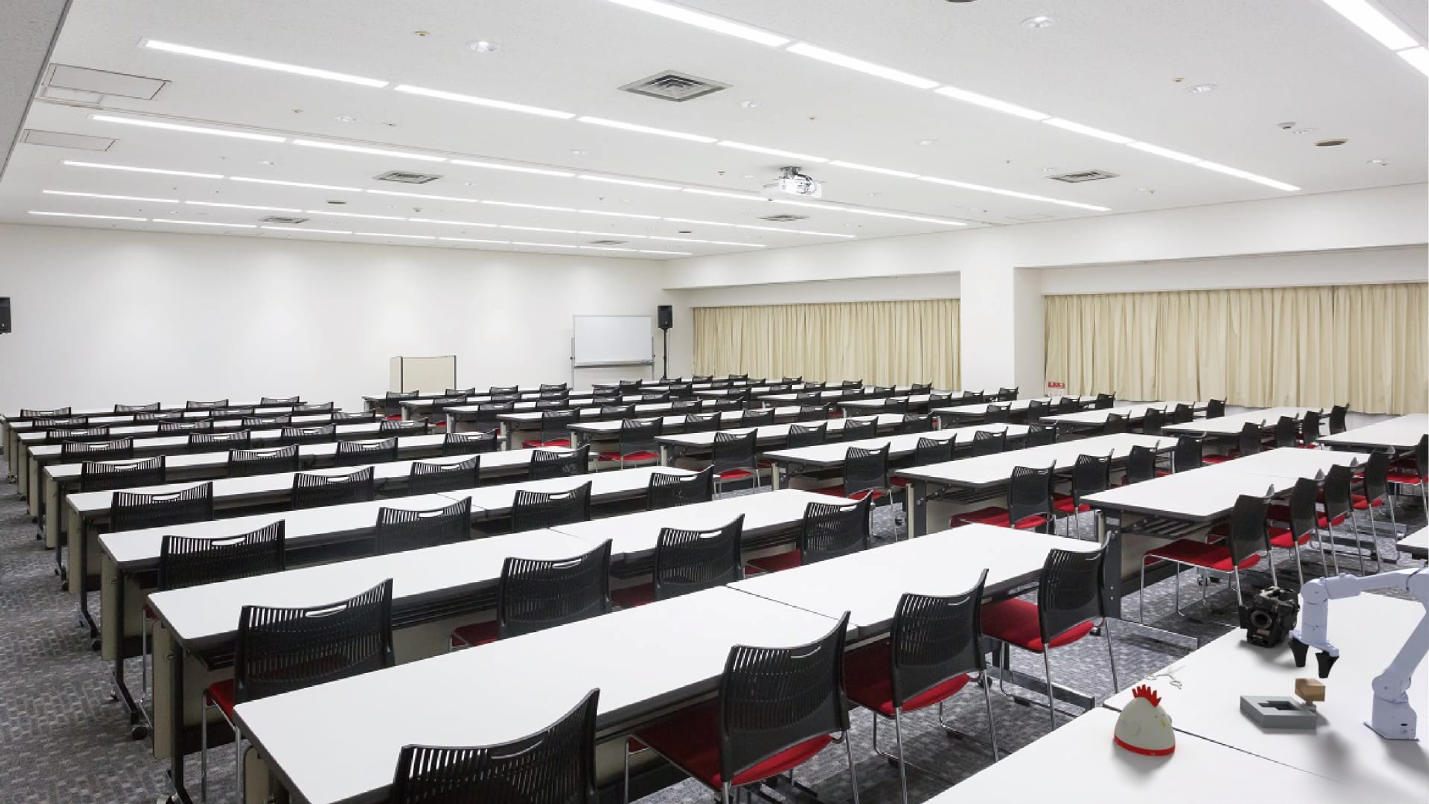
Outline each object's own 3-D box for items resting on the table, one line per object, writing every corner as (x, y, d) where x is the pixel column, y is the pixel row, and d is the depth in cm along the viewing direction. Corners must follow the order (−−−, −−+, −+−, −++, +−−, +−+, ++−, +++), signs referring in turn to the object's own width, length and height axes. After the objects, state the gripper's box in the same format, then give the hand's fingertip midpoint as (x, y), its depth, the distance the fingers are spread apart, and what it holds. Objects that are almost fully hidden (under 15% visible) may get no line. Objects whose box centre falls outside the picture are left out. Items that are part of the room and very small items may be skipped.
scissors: (1141, 679, 266) (1159, 658, 282) (1141, 681, 266) (1159, 660, 282) (1181, 688, 260) (1197, 666, 275) (1181, 690, 260) (1197, 669, 275)
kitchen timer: (1147, 760, 219) (1149, 701, 217) (1102, 736, 231) (1103, 680, 230) (1187, 749, 224) (1190, 691, 223) (1141, 726, 237) (1143, 671, 235)
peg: (1323, 713, 243) (1325, 685, 242) (1304, 712, 244) (1306, 685, 243) (1313, 705, 248) (1314, 678, 247) (1294, 704, 249) (1295, 678, 248)
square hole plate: (1316, 728, 234) (1316, 715, 234) (1263, 727, 235) (1263, 714, 235) (1290, 708, 246) (1290, 696, 246) (1239, 707, 247) (1240, 695, 247)
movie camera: (1290, 655, 282) (1291, 599, 282) (1229, 642, 296) (1230, 589, 296) (1327, 636, 301) (1327, 584, 301) (1268, 625, 315) (1268, 575, 315)
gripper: (1350, 632, 238) (1347, 681, 239) (1305, 614, 252) (1303, 661, 254) (1326, 633, 237) (1323, 683, 238) (1283, 615, 251) (1280, 663, 252)
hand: (1311, 672), depth 246 cm, fingers open, 7 cm apart
